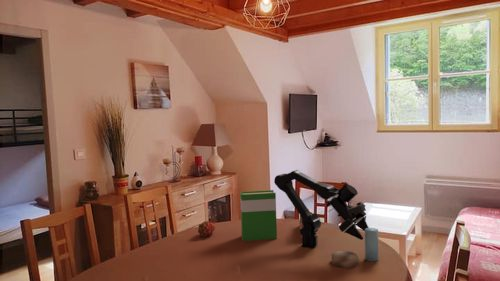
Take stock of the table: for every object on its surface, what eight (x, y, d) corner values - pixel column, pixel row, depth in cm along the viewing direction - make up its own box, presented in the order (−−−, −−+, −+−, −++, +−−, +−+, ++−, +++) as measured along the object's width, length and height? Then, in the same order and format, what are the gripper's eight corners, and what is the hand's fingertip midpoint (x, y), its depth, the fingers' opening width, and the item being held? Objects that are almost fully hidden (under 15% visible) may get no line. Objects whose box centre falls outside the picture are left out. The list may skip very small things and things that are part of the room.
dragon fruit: (201, 242, 194) (208, 238, 206) (214, 233, 193) (220, 229, 205) (192, 229, 196) (200, 225, 208) (205, 219, 195) (212, 216, 207)
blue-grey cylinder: (364, 260, 161) (363, 230, 160) (366, 255, 165) (365, 227, 165) (377, 262, 158) (377, 232, 157) (379, 257, 163) (378, 228, 162)
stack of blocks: (301, 225, 213) (301, 204, 212) (312, 225, 212) (312, 204, 211) (299, 237, 192) (299, 214, 191) (312, 238, 191) (311, 214, 190)
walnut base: (328, 265, 157) (328, 258, 156) (335, 255, 166) (334, 249, 166) (355, 269, 152) (355, 262, 152) (360, 259, 162) (360, 252, 161)
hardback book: (274, 234, 199) (273, 190, 198) (276, 238, 192) (275, 192, 190) (241, 236, 198) (240, 191, 196) (242, 241, 190) (241, 194, 188)
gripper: (345, 201, 157) (371, 231, 151) (361, 193, 172) (386, 220, 166) (328, 217, 163) (353, 246, 157) (345, 208, 177) (369, 234, 171)
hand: (366, 236), depth 162 cm, fingers open, 9 cm apart
